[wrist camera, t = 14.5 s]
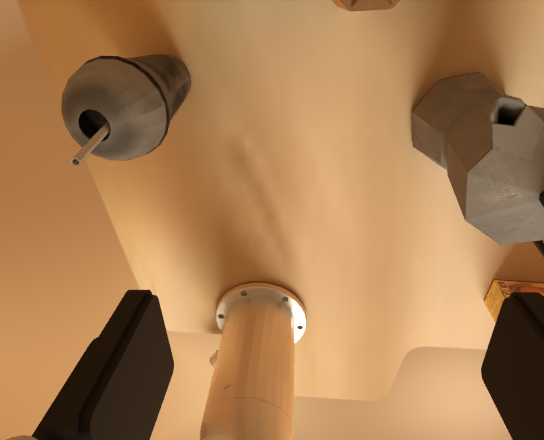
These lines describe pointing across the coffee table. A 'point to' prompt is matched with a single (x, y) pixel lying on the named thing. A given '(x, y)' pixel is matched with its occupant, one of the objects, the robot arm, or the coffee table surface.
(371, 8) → the hinge
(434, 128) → the coffeepot
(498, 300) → the candy box
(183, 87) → the beverage cup
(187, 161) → the coffee table surface
